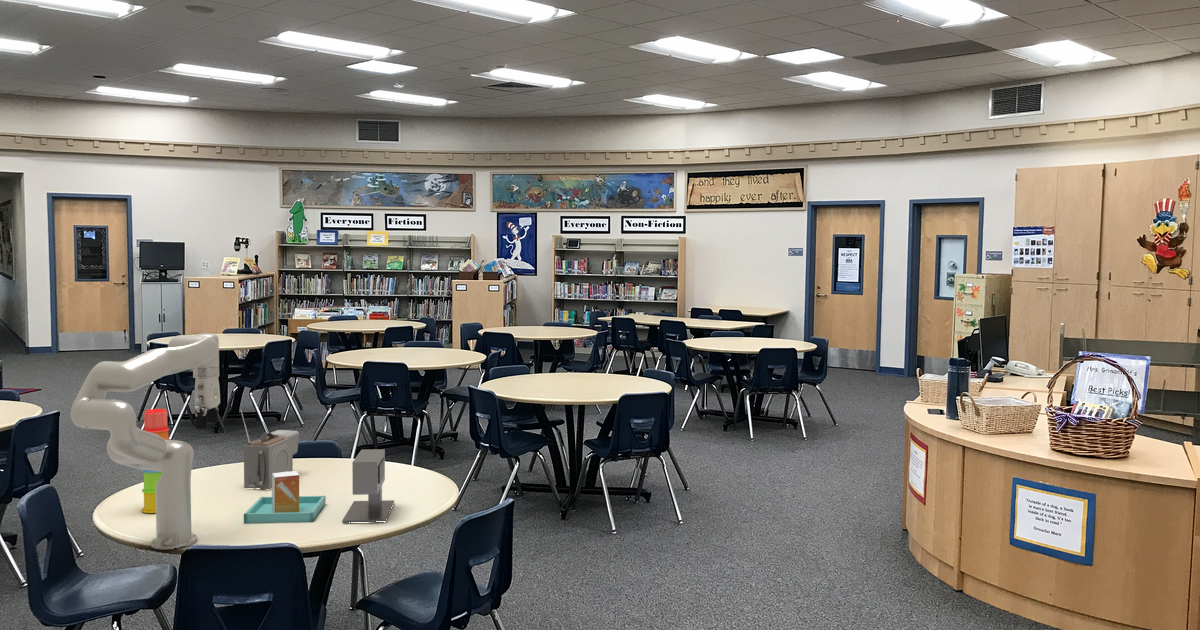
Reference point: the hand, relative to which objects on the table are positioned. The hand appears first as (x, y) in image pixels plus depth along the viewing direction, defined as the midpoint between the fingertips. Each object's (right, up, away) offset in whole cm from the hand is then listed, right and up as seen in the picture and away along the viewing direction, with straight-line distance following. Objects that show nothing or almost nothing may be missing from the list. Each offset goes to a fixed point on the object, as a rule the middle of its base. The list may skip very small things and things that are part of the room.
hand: (207, 425), depth 266 cm
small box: (+19, -32, +17) cm, 41 cm away
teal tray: (+19, -33, +18) cm, 41 cm away
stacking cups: (-26, -32, +19) cm, 45 cm away
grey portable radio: (-2, -30, +56) cm, 64 cm away
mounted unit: (+47, -33, +19) cm, 60 cm away
